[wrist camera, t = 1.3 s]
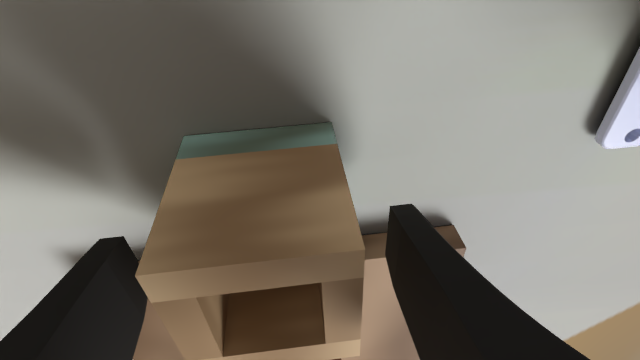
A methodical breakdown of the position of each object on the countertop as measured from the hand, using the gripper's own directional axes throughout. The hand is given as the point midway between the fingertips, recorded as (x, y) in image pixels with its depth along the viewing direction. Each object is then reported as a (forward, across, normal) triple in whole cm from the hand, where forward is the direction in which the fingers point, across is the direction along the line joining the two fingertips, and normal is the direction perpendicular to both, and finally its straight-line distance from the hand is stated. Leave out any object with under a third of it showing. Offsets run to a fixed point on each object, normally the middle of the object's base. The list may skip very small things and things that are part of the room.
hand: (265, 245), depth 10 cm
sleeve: (+3, 0, 0) cm, 3 cm away
